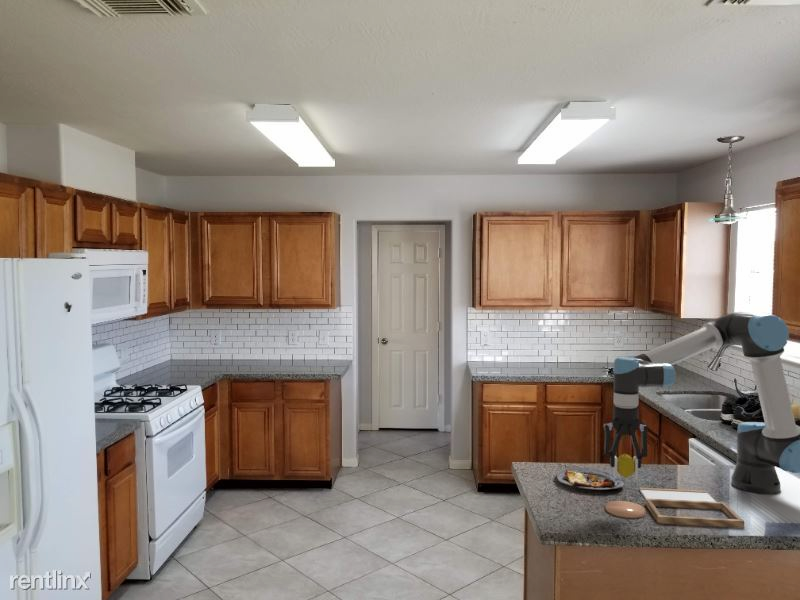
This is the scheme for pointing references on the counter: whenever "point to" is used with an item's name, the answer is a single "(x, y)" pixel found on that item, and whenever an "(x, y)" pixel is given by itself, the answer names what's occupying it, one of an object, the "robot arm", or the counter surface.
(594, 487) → the food plate
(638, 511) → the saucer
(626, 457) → the lemon
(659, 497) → the lid
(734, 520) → the wooden frame
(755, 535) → the counter surface
